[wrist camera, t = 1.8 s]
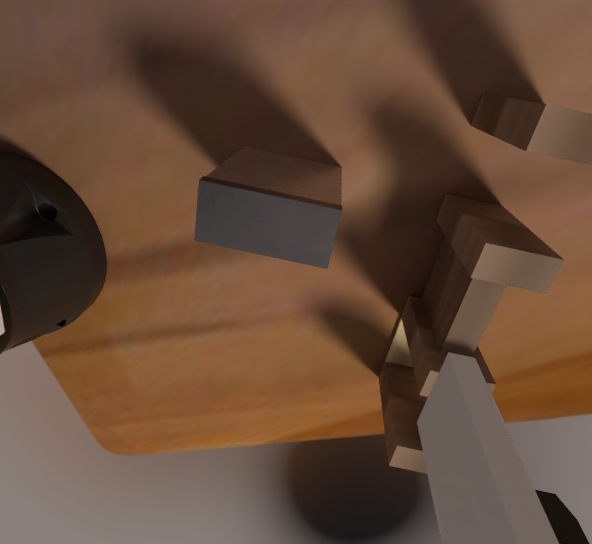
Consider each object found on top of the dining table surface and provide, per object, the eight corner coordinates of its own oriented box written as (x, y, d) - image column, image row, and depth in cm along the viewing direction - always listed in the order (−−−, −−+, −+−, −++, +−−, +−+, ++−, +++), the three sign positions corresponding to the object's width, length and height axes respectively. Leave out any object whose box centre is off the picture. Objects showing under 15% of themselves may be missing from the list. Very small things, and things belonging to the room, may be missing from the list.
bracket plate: (238, 188, 30) (194, 240, 21) (243, 144, 29) (199, 179, 20) (331, 208, 30) (327, 268, 21) (341, 165, 29) (341, 210, 20)
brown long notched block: (378, 377, 36) (388, 465, 28) (482, 92, 26) (546, 104, 18) (423, 387, 36) (445, 477, 28) (545, 105, 26) (637, 123, 18)
